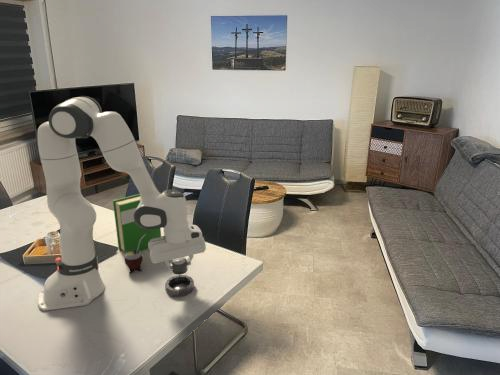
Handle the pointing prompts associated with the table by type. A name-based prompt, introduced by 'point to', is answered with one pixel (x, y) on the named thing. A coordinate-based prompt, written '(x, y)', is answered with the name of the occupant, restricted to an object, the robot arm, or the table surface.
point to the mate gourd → (134, 259)
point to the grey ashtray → (179, 286)
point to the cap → (179, 266)
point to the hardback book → (131, 225)
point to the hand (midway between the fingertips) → (179, 266)
